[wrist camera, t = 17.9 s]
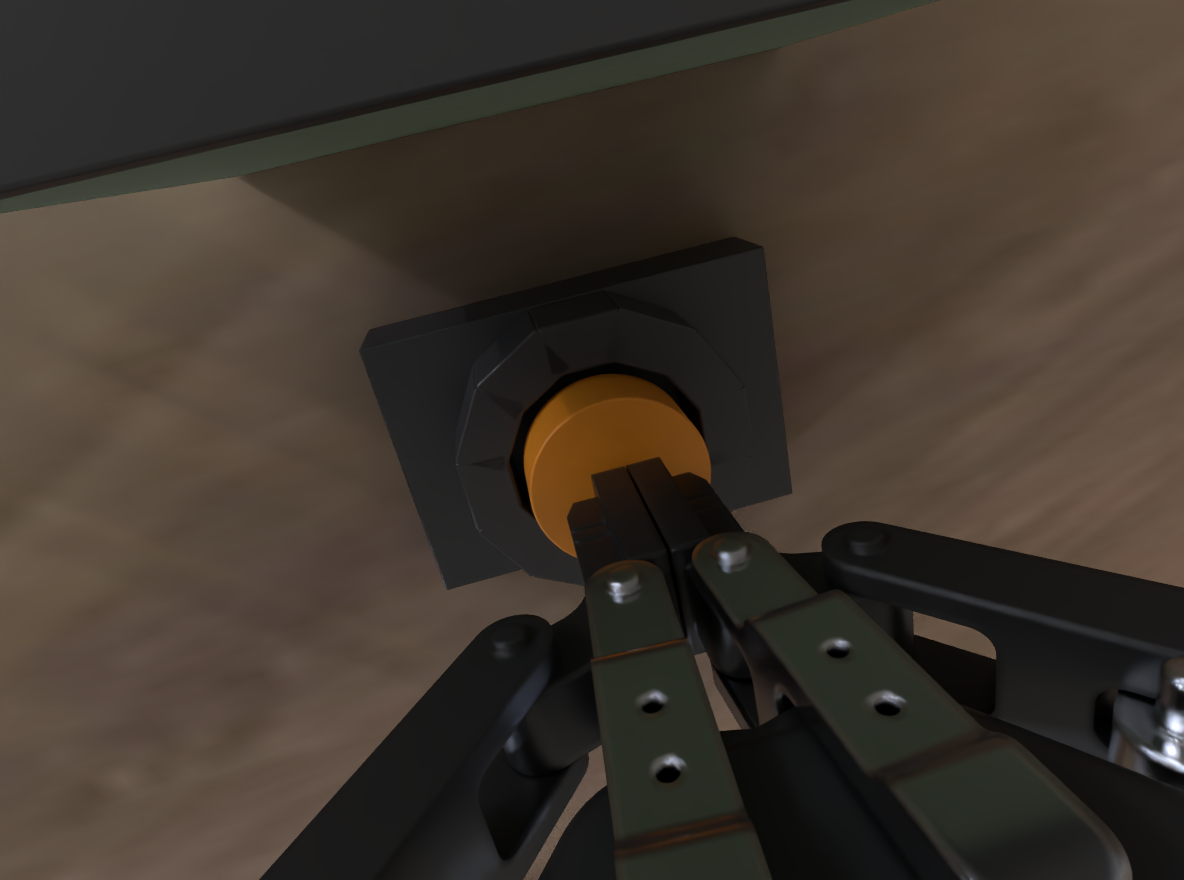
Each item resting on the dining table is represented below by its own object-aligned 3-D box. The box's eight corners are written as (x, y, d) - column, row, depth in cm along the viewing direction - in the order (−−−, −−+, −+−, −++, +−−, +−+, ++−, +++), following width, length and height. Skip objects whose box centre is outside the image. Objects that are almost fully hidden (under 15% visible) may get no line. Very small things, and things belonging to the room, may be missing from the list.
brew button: (674, 352, 16) (697, 376, 15) (701, 503, 18) (724, 538, 16) (503, 398, 16) (507, 426, 15) (545, 546, 18) (554, 586, 16)
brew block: (735, 235, 19) (799, 258, 16) (766, 465, 22) (825, 528, 19) (368, 329, 19) (345, 375, 15) (447, 552, 22) (444, 636, 18)
